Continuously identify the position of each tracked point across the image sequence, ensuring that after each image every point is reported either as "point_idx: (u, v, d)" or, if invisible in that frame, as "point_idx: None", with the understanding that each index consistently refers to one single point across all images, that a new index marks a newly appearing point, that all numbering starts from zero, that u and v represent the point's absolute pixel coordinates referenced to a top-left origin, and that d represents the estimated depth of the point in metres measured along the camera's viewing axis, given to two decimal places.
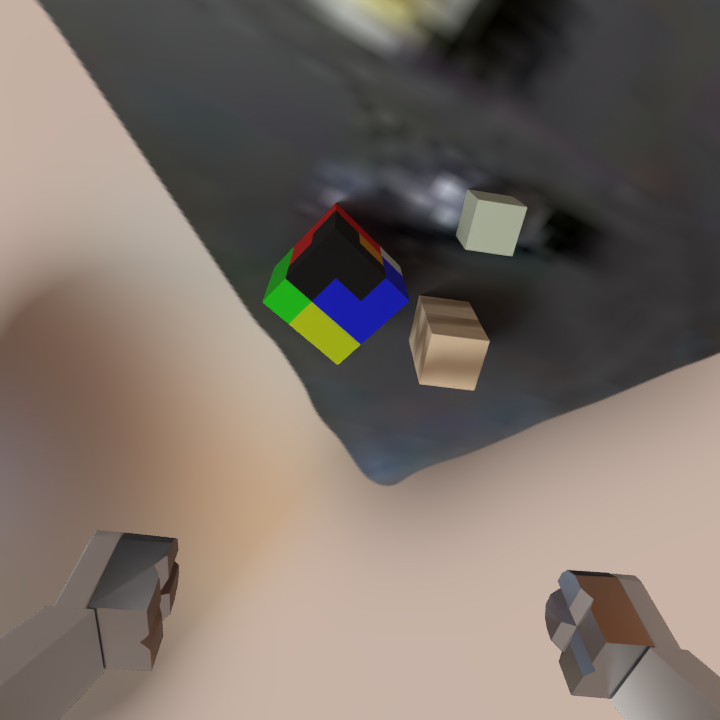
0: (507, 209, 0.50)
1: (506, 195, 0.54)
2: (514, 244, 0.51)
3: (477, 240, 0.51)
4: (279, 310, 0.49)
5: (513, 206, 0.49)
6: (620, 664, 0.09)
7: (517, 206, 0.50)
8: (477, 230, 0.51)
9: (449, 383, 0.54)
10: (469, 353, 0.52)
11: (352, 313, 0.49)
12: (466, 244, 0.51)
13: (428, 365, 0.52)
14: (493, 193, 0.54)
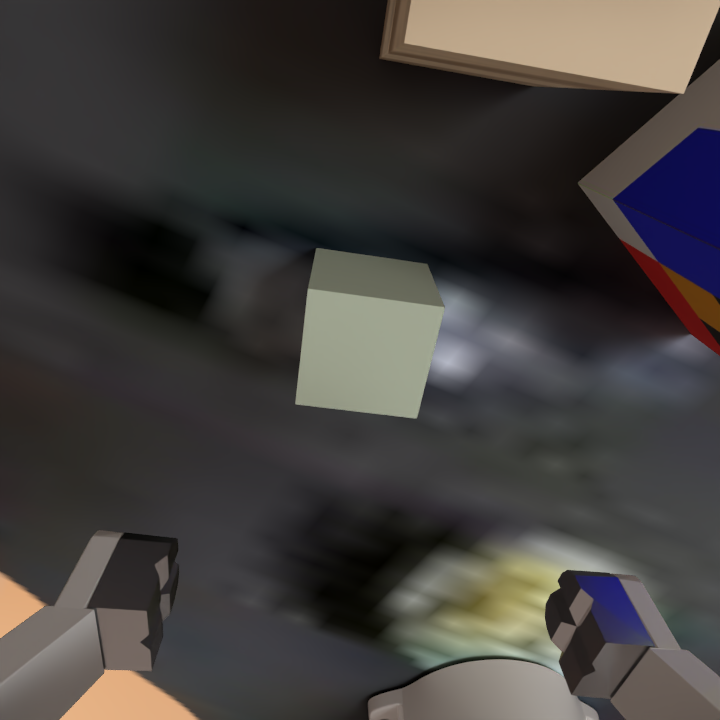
0: (342, 399, 0.20)
1: None
2: (309, 321, 0.19)
3: (411, 330, 0.19)
4: None
5: (330, 406, 0.20)
6: (620, 664, 0.09)
7: (319, 404, 0.20)
8: (413, 354, 0.19)
9: None
10: None
11: None
12: (440, 317, 0.19)
13: None
14: None
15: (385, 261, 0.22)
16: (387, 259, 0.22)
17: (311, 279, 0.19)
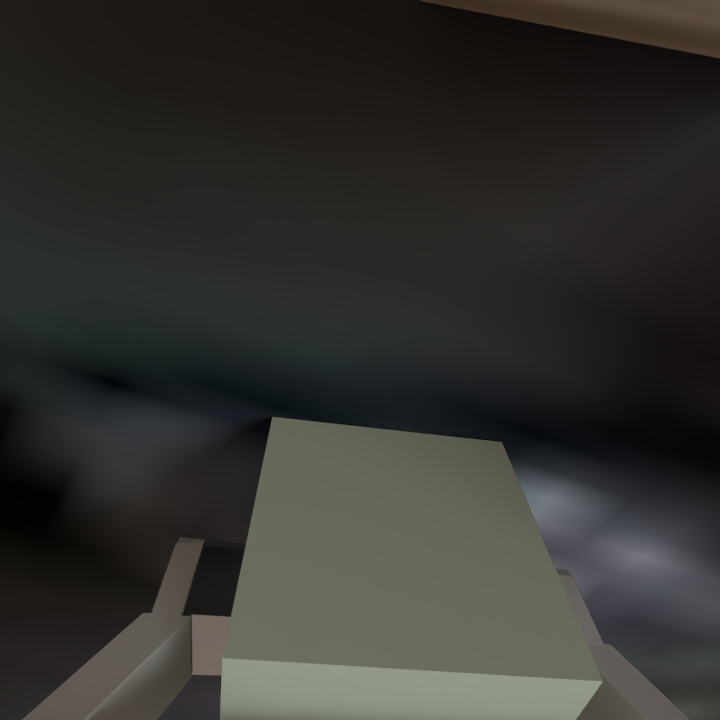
0: None
1: None
2: (233, 712, 0.07)
3: (506, 719, 0.07)
4: None
5: None
6: None
7: None
8: None
9: None
10: None
11: None
12: None
13: None
14: None
15: (420, 449, 0.10)
16: (422, 441, 0.11)
17: (240, 590, 0.07)
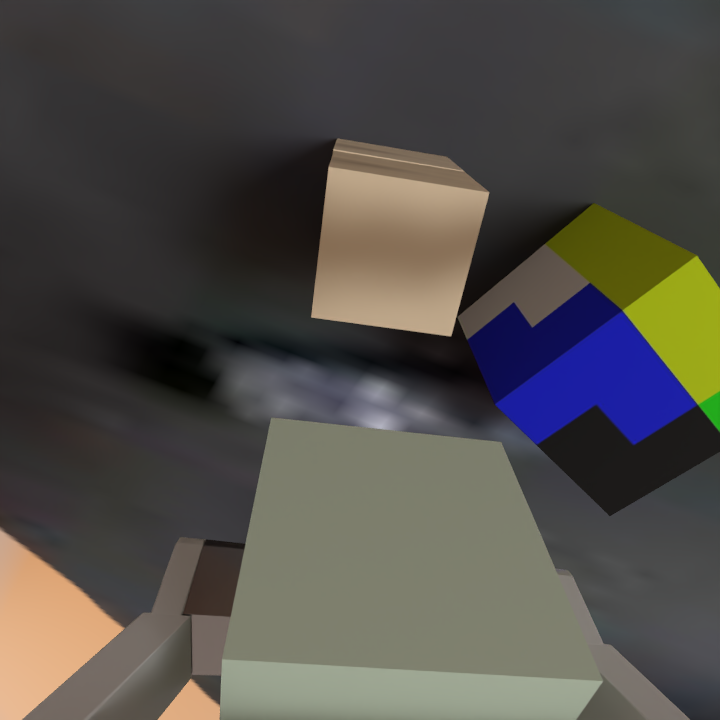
0: None
1: None
2: (233, 713, 0.07)
3: (507, 719, 0.07)
4: None
5: None
6: None
7: None
8: None
9: (403, 193, 0.19)
10: (357, 286, 0.20)
11: (620, 380, 0.23)
12: None
13: (462, 252, 0.20)
14: None
15: (419, 449, 0.10)
16: (421, 441, 0.11)
17: (240, 591, 0.07)
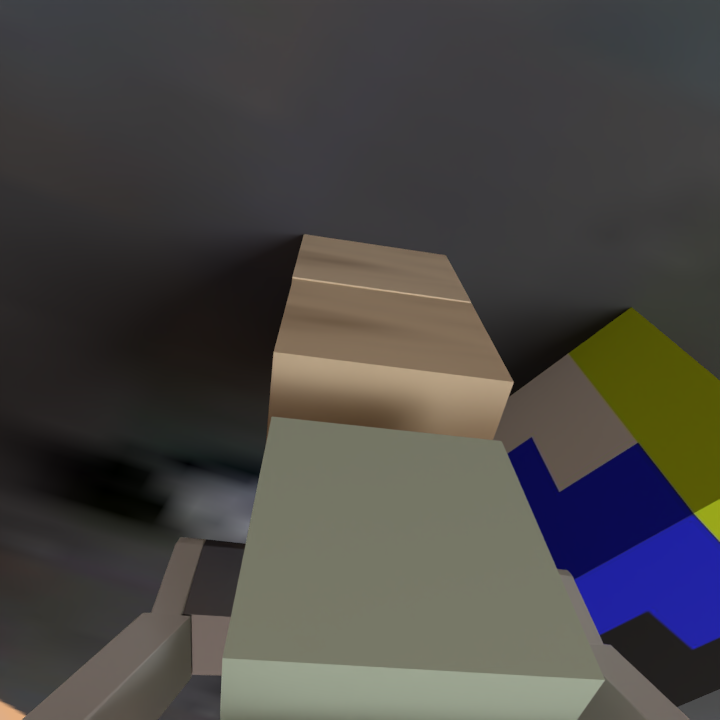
0: None
1: None
2: (234, 713, 0.07)
3: (508, 719, 0.07)
4: None
5: None
6: None
7: None
8: None
9: (386, 383, 0.13)
10: None
11: (682, 586, 0.17)
12: None
13: None
14: None
15: (419, 448, 0.10)
16: (422, 440, 0.11)
17: (240, 590, 0.07)
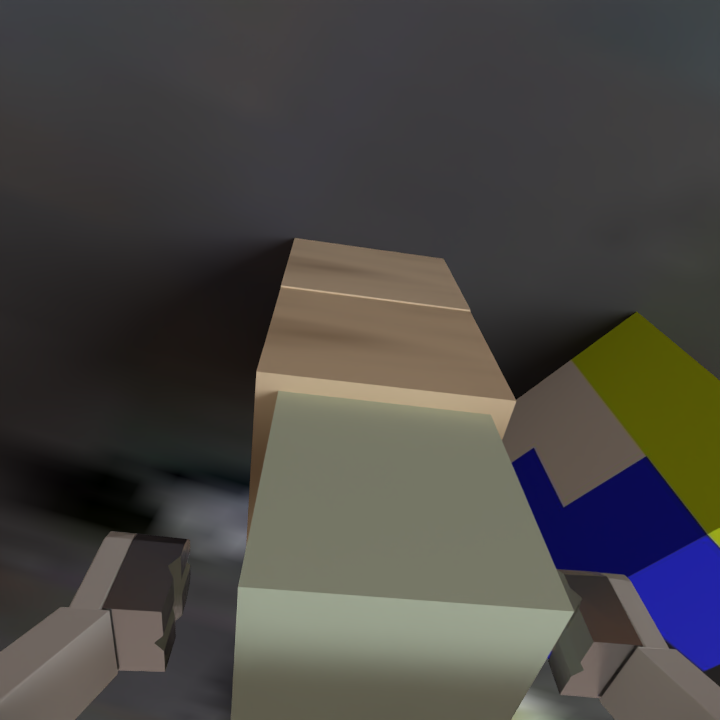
0: None
1: None
2: (246, 640, 0.08)
3: (490, 649, 0.08)
4: None
5: None
6: (608, 663, 0.09)
7: None
8: (489, 683, 0.09)
9: None
10: None
11: (694, 608, 0.16)
12: (558, 623, 0.08)
13: None
14: None
15: (414, 420, 0.11)
16: (416, 412, 0.12)
17: (253, 534, 0.08)
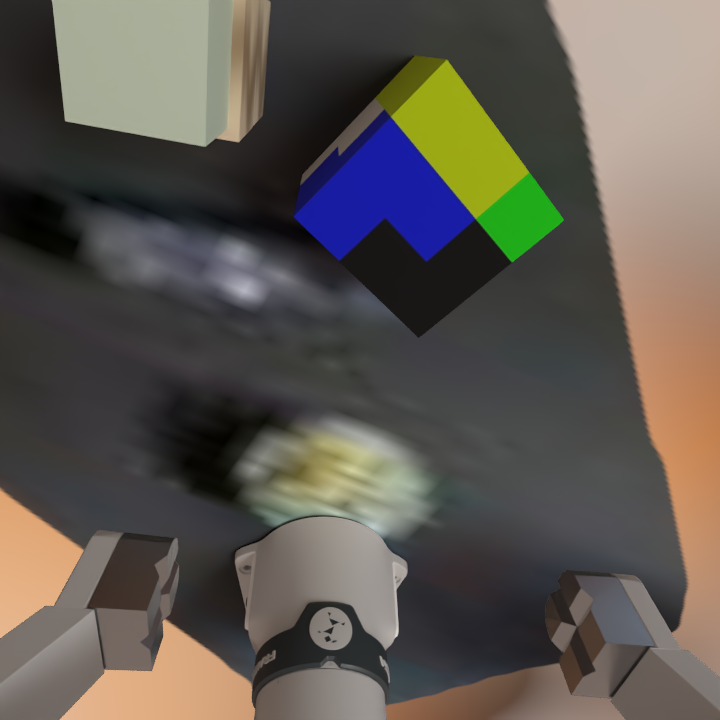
0: (117, 116, 0.18)
1: None
2: None
3: (177, 18, 0.17)
4: (538, 202, 0.26)
5: (104, 124, 0.19)
6: (620, 664, 0.09)
7: (93, 123, 0.19)
8: (185, 53, 0.18)
9: None
10: None
11: (402, 192, 0.25)
12: (208, 3, 0.17)
13: (232, 50, 0.22)
14: None
15: None
16: None
17: None
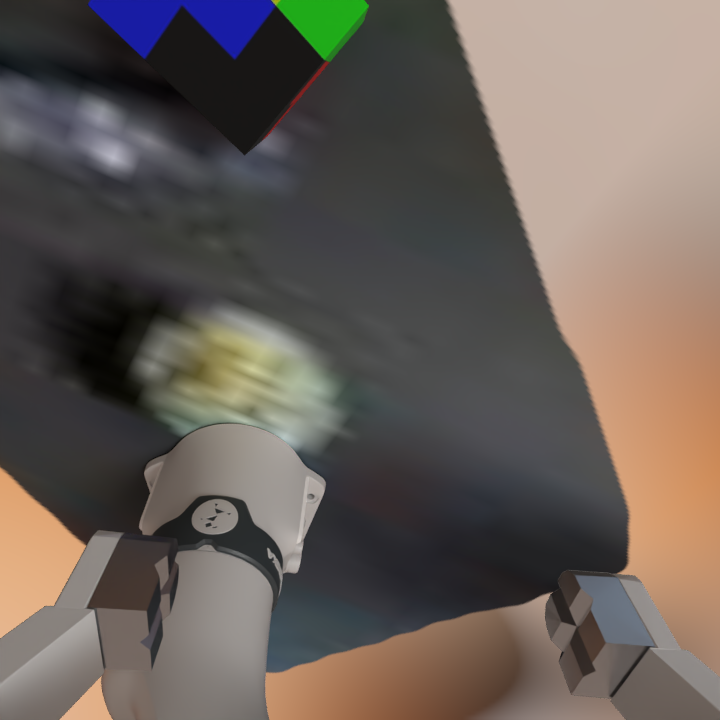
0: None
1: None
2: None
3: None
4: None
5: None
6: (620, 664, 0.09)
7: None
8: None
9: None
10: None
11: None
12: None
13: None
14: None
15: None
16: None
17: None
